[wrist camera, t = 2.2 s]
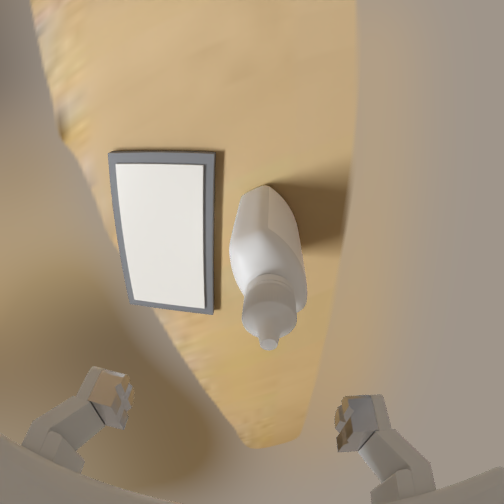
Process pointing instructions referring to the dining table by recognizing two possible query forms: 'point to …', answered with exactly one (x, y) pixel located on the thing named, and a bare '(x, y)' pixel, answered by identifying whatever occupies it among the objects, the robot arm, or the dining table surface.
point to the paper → (163, 231)
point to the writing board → (208, 215)
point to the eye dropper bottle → (268, 265)
